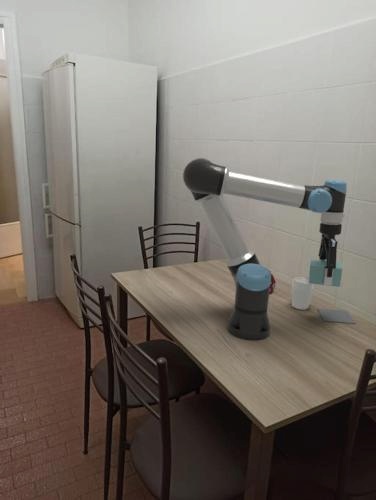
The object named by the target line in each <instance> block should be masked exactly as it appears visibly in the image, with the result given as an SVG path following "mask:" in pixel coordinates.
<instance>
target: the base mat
mask: <svg viewBox="0 0 376 500" xmlns="http://www.w3.org/2000/svg"><path fill="white" fill-rule="evenodd" d="M316 309H317V311H318V312H319V313H318V314H320V317H321V318H322V320H323V322H326V323H339V324H350V325H357V322H356V321H355V320H354V318H353V317H352V316H351V314H350V312H349V311H347V310H340V309H331V308H320V307H317V308H316Z"/></svg>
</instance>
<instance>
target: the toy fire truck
mask: <svg viewBox="0 0 376 500" xmlns="http://www.w3.org/2000/svg"><path fill="white" fill-rule="evenodd" d="M268 270H269V271H270V273H271V272H272V271H271V270H270V269H268ZM275 288H276V279H275V277H274V275H273V273H271V284H270V290H269V295H270V294H272V293H273V292H274V290H275Z"/></svg>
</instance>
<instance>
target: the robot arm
mask: <svg viewBox="0 0 376 500" xmlns="http://www.w3.org/2000/svg"><path fill="white" fill-rule="evenodd" d="M182 173H183V175H182V179H183V182H184V185H185V186H186V188H187V189H188V190H189V192H190V193H191V195H192V197H193V198H194V201H195V202H197V203H200V204H201V206H202V208H203V210H204V212H205V214H206V216H207V218H208V220H209V223H210V224H211V226H212V228H213V230H214V233H215V234H216V236H217V239H218V241H219V243H220V245H221V247H222V249H223V251H224V253H225V255H226V257H227V262H226V266H227V268H228V270H229V272H230V274H231V276H232V278H233V281H234V285H235V295H234V306H233V309H232V312H231V315H230V317H229V318H228V319H229V320H228V321H227V330H228V332H229V333H230V334H232V335H233V336H235V337H238V338H241V339H244V340H253V341H254V340H255V341H256V340H258V341H259V340H263V339H266V338H268V336H270V334H271V324H270V320H269V314H268V307H269V306H268V305H269V299H270V298H269V297H270V294H269V290H270V284H271V274H272V273H270V271H271V270H270V269H269V268H268V267H266V266H264V265H262V264H261V263H260V261H259V259H258V256H257V255H256V253H255V252H256V251H254V250H252V249H249V247H248V245H247V243H246V241H245V239H244V236H243V234H242V233H241V232H242V231H241V230H240V228H239V226H238V224H237V222H236V220H235V218H234V217H235V216H234V215H233V213H232V211H231V208H230V206H229V204H228V203H227V200H226V199H225V197H224V196H225V194H226V195H229V196H230V195H231V196H235V197H240V198H245V199H251V200H256V201H261V202H262V201H263V202H267V203H271V204H277V205H282V206H287V207H291V208H292V207H293V208H297V209H301V210H307V211H311V212H312V213H316V214H320V213H321V214H320V223H319V233H320V234H321V240H320V245H319V251H318V257H319V258H318V260H321V261H327V266H325V267H324V268H325V276H324V285H323V286H328V285H332V278H333V270H334V269H335V268H336V262H337V250H338V249H337V248H338V240H336V236H339V235H341V234H342V228H343V227H342V226H343V225H342V223H343V219H344V217H345V214H344V211H345V202H346V197H347V189H348V188H347V181H345V180H338V179H337V180H336V179H335V180H334V179H333V180H332V179H330V180H329V179H327V180H325V181H324V184H323V185H306V184H305V185H303V184H299V183H293V182H290V181H289V182H287V181H282V180H278V179H273V178H267V177H263V176H257V175H252V174H249V173H248V174H247V173H242V172H237V171H234V170H229V168H228V167H227V166H224V165H223V166H222V165H219V164H216V163H213V162H212V161H211V160H209V159H206V158H201V157H199V158H196V159H193V160H191V161H190V162H188V163H187V164H186V166H185V167H184V169H183V172H182ZM269 270H270V271H269Z"/></svg>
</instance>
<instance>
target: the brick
mask: <svg viewBox="0 0 376 500" xmlns="http://www.w3.org/2000/svg"><path fill="white" fill-rule="evenodd" d="M309 264H310V265H309V276H308V278H309V283H311V284H314V285H319V286H321V285H322V286H325V285H324V276H325V268H324V267H325V266H327V261H321V260H320V259H310V263H309ZM342 265H343V264H342V262H340V261H336V268H335V269H334V270H333V278H332V285H327V286H328V287H330V286H331V287H338V288H340V287H341V282H342V274H343V273H342V272H343V266H342Z"/></svg>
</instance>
